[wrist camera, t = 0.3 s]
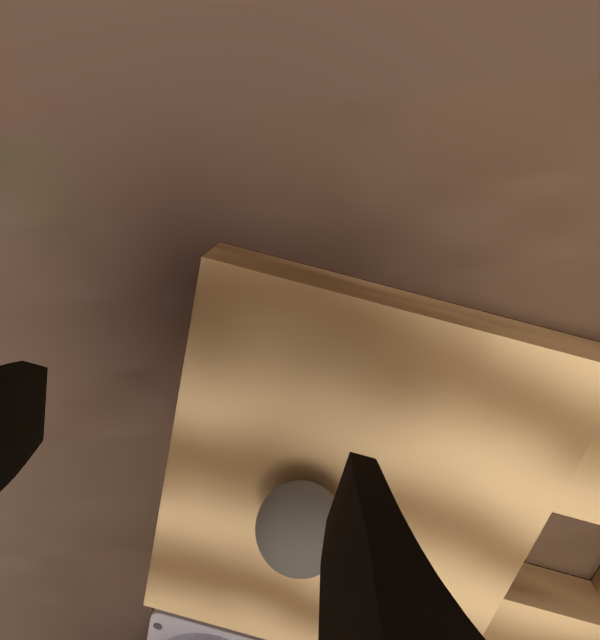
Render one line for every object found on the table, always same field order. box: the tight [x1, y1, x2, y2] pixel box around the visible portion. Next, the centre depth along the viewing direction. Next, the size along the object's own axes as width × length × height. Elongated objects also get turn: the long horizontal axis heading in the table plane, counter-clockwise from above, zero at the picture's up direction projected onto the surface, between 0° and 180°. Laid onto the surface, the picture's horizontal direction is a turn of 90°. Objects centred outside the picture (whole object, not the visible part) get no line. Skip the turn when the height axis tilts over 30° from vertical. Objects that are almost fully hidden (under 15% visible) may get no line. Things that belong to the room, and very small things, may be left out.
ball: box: [255, 480, 334, 579], centre depth 19 cm, size 4×4×4 cm
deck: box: [143, 242, 600, 640], centre depth 22 cm, size 18×26×2 cm
